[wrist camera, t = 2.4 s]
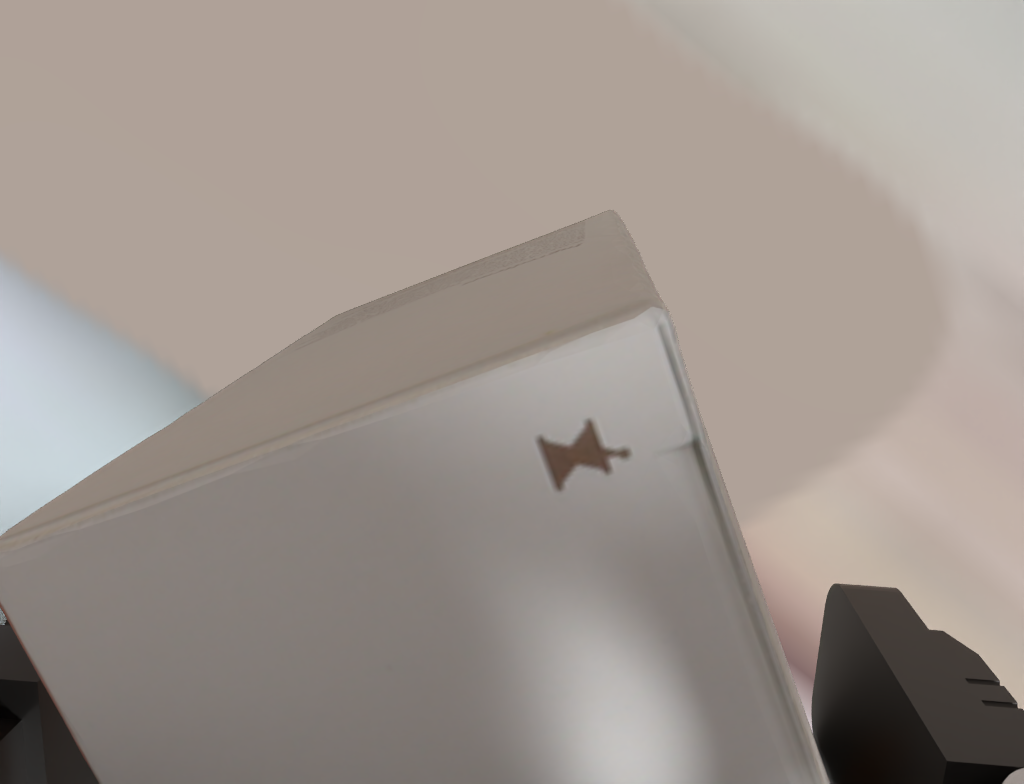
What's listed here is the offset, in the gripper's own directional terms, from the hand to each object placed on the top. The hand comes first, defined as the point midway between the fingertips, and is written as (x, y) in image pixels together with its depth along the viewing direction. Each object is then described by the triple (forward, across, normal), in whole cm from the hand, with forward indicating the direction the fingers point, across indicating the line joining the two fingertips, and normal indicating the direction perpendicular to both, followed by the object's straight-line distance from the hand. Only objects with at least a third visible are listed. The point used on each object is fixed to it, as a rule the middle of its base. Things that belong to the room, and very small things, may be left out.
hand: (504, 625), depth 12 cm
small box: (+6, 0, 0) cm, 6 cm away
